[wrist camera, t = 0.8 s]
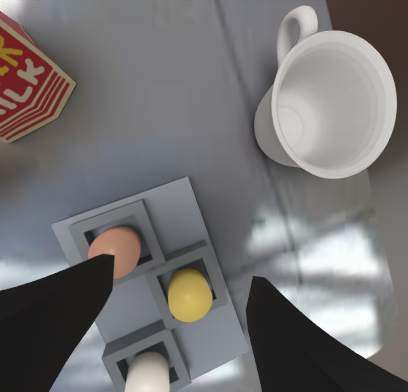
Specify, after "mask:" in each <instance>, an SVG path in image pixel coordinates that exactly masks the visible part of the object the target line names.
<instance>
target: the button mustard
mask: <svg viewBox="0 0 408 392" xmlns="http://www.w3.org/2000/svg"><path fill="white" fill-rule="evenodd" d="M168 304H169V309H170V312H171V313H172V315H173V316H174V317H175V318H176V319H178V320H180V321H183V322H194V321H197V320H199V319H201V318H202V317H204V316H205V315H206V314H207V312H208V311H209V309H210V307H211V305H212V292H211V290H210V288H209V286H208V283H207V281H206V279H205V277H204V275H203V274H202V273H201V272H200V271H198V270H196V269H192V268H186V269H182V270H180V271H178V272H176V273H175V274H174V275H173V276H172V277H171V279H170V281H169V283H168Z"/></svg>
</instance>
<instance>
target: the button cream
mask: <svg viewBox="0 0 408 392" xmlns="http://www.w3.org/2000/svg"><path fill="white" fill-rule="evenodd" d="M124 392H170V386H169V365H168V361H167V359H166V358H165V357H164V356H163V355H162V354H160V353H158V352H145V353H142V354H140V355H138V356H137V357H136V358H135V359H134V360H133V361H132V362H131V364H130V366H129V369H128V374H127V380H126V386H125V391H124Z"/></svg>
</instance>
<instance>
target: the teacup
mask: <svg viewBox="0 0 408 392" xmlns="http://www.w3.org/2000/svg"><path fill="white" fill-rule="evenodd" d="M296 22H298V24H299V27H300V37H299V40H298V42H297V44H296V45H295V47H294V48H292V50H291V38H292V33H293V29H294V26H295V24H296ZM317 28H318V21H317V16H316V13H315V12H314V10H313V9H312V8H311V7H309V6H301V7H298V8H295V9H294V10H292V11H291V12H290V13H288V14H287V16H286V17H285V18H284V20H283V21H282V23H281V25H280V28H279V31H278V35H277V59H278V72H277V75H276V78H275V82H274V84H273V85H272V86H271V88H270V89H269V90H268V91H267V92H266V94H265V95H264V97H263V99H262V100H261V102H260V104H259V106H258V108H257V111H256V114H255V120H254V131H255V136H256V140H257V142H258V144H259V146H260V148H261V149H262V151H263V152H264V153H265V154H266V155H267V156H268V157H269V158H271V159H272V160H274V161H275V162H277V163H280V164H282V165H287V166H291V167H299V168H303V169H305V170H306V171H308V172H310V173H312V174H314V175H317V176H319V177H324V178H332V179H336V178H344V177H348V176H351V175H354V174H356V173H358V172H360V171H362V170H364V169H365V168H367V167H368V166H369V165H370V164H372V162H374V161H375V160H376V159H377V157H378V156H379V155H380V154H381V152H382V151H383V149H384V148H385V146H386V144H387V143H388V141H389V138H390V136H391V133H392V130H393V127H394V123H395V118H396V109H397V99H396V90H395V84H394V81H393V78H392V74H391V72H390V70H389V68H388V66H387V64H386V63H385V61H384V59H383V58H382V57H381V55H380V54H379V53H378V52H377V51H376V50H375V49H374V47H373V46H371V45H370V44H369V43H368V42H366V41H365V40H363V39H362V38H360V37H358V36H356V35H353V34H351V33H347V32H343V31H324V32H320V33H316V32H317Z"/></svg>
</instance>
